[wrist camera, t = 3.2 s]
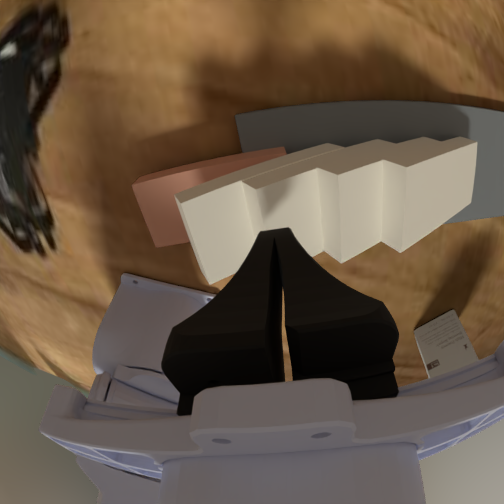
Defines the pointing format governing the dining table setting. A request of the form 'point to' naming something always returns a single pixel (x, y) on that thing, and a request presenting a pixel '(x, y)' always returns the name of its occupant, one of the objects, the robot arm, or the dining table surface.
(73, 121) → the dining table surface
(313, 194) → the domino
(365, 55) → the dining table surface
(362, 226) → the domino
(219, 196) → the domino
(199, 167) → the end domino
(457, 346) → the skincare box
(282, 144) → the domino board
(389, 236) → the domino
